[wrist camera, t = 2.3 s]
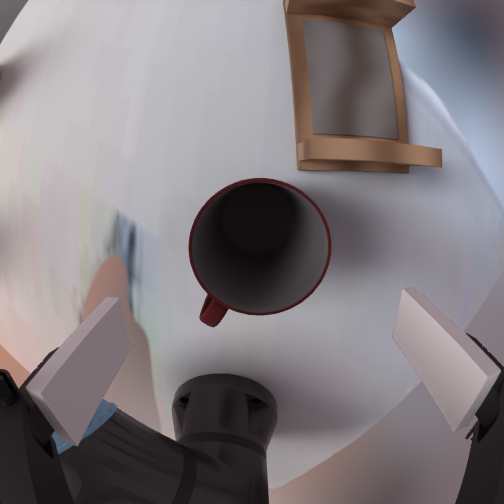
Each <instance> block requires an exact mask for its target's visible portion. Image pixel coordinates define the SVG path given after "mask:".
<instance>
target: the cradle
mask: <svg viewBox="0 0 504 504" xmlns="http://www.w3.org/2000/svg"><path fill="white" fill-rule="evenodd" d="M283 5H284V12H285V20H286V28H287V37H288V46H289V56H290V67H291V78H292V90H293V103H294V118H295V134H296V154H297V170H351V171H376V172H394V173H407V174H409V165H415V166H430V167H442V149H437V148H431V147H424V146H417V145H410V144H408V134H407V120H406V109H405V100H404V92H403V85H402V78H401V72H400V66H399V61H398V56H397V51H396V46H395V41H394V37H393V33H392V29H391V28H392V27H393V26H394V25H396V24H397V23H398V22H399V21H400V20H401V19H403V18H404V17H405V16H406V15H407V14H408V13H410V12H411V11H412V10H413V9H414V8H416V6H415V4H414V1H413V0H284V1H283Z"/></svg>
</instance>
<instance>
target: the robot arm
mask: <svg viewBox="0 0 504 504" xmlns="http://www.w3.org/2000/svg"><path fill="white" fill-rule="evenodd" d="M392 338H393V340H394V341H395V342H396V344H397V345H398V347H399V348H400V350H401V351H402V352H403V354H404V355H405V357H406V358H407V360H408V361H409V363H410V364H411V366H412V367H413V369H414V370H415V372H416V373H417V375H418V376H419V378H420V379H421V381H422V382H423V384H424V385H425V387H426V388H427V390H428V391H429V393H430V395H431V396H432V398H433V399H434V401H435V403H436V404H437V406H438V407H439V409H440V411H441V412H442V414H443V416H444V417H445V419H446V421H447V422H448V424H449V426H450V427H451V429H452V431H453V432H455V431H457V430H459V429H461V428H463V427H466V426H467V425H468V424H469V423H470V421H471V420H472V418H473V417H474V416H475V415H476V417H477V418H478V421H477V422H476V423H475V425H474V426H473V428H472V429H471V430H470V432H469V433H468V434H467V436H466V439H468V438H469V437H470V436H471V434H472V433H473V437H472V438H471V440H472V444H471V449H470V454H469V458H468V462H467V467H466V471H465V474H464V478H463V481H462V485H461V488H460V491H459V494H458V498H457V500H456V503H455V504H504V367H503V366H502V365H501V364H500V363H499V362H498V361H497V360H496V358H495V357H494V356H493V355H492V354H491V353H489V352H488V351H487V349H486V348H485V347H484V346H483V347H482V344H481V343H480V342H479V341H478V340H477V339H476V338H474V337H472V336H471V335H469V334H467V333H464V332H463V331H462V330H461V329H460V328H459V327H458V326H457V325H456V324H455V323H454V322H453V321H452V320H451V319H450V318H449V317H448V316H447V315H446V314H444V313H443V312H442V311H441V310H440V309H439V308H438V307H437V306H436V305H435V304H434V303H432V302H431V301H430V300H429V299H428V298H427V297H426V296H425V295H423V294H422V293H421V292H420V291H419V290H418V289H417V288H405V289H403V290H402V295H401V300H400V305H399V310H398V314H397V318H396V323H395V327H394V331H393V335H392ZM132 347H133V344H132V340H131V337H130V334H129V330H128V326H127V323H126V319H125V315H124V311H123V307H122V303H121V300H120V298H116V297H106V298H105V299H104V300H103V302H102V303H101V304H100V305H99V306H98V307H97V308H96V309H95V310H94V311H93V312H92V313H91V314H90V315H89V316H88V317H87V318H86V319H85V320H84V321H83V322H82V323H81V324H80V325H79V326H78V328H77V329H76V330H75V331H74V332H73V333H72V334H71V335H70V336H69V337H68V338H67V339H66V341H65V342H64V343H63V344H62V345H61V346H60V347H58V348H56V349H55V350H53V351H52V352H50V353H49V354H48V355H47V356H46V357H45V358H44V360H43V362H41V363H40V364H39V365H38V366H37V368H36V369H35V370H34V371H33V372H32V373H31V375H30V376H29V377H28V378H27V379H26V381H25V382H24V383H23V384H22V385H21V387H20V388H19V389H18V387H17V386H16V384H15V382H14V380H13V378H12V377H11V375H10V373H9V372H8V371H7V370H4V369H0V504H269V496H268V479H267V463H266V450H267V448H268V445H269V442H270V440H271V437H272V434H273V432H274V429H275V426H276V423H277V406H276V402H275V399H274V398H273V396H272V395H271V393H270V392H269V391H268V390H267V389H265V388H264V387H263V386H261V385H259V384H258V383H256V382H253V381H251V380H249V379H246V378H242V377H238V376H233V375H225V374H211V375H203V376H199V377H196V378H193V379H190V380H188V381H187V382H185V383H184V384H182V385H181V386H180V387H179V389H178V390H177V392H176V394H175V397H174V401H173V404H172V417H173V424H174V430H175V437H176V441H174V440H172V439H170V438H168V437H166V436H164V435H163V434H161V433H159V432H157V431H155V430H153V429H151V428H150V427H148V426H146V425H144V424H142V423H141V422H139V421H137V420H136V419H134V418H133V417H131V416H129V415H127V414H126V413H124V412H123V411H121V410H119V409H118V408H117V406H116V405H115V404H114V403H109V402H107V401H106V400H104V399H103V397H104V395H105V393H106V392H107V390H108V388H109V386H110V385H111V383H112V381H113V379H114V378H115V376H116V374H117V372H118V370H119V369H120V367H121V365H122V364H123V362H124V360H125V359H126V357H127V355H128V354H129V352H130V350H131V349H132Z"/></svg>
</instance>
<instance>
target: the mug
mask: <svg viewBox="0 0 504 504" xmlns="http://www.w3.org/2000/svg"><path fill="white" fill-rule="evenodd" d="M330 256H331V238H330V232H329V228H328V225H327V222H326V220H325V218H324V216H323V214H322V212H321V211H320V209H319V208H318V206H317V205H316V204H315V203H314V202H313V201H312V200H311V199H310V198H309V197H308V196H307V195H306V194H305V193H303V192H302V191H300V190H299V189H297V188H296V187H294V186H292V185H290V184H287V183H284V182H282V181H278V180H274V179H268V178H252V179H246V180H241V181H238V182H235V183H233V184H231V185H229V186H227V187H225V188H223V189H222V190H220V191H219V192H217V193H216V194H215V195H213V196H212V197H211V198H210V199H209V200H208V201H207V202H206V203H205V205H204V206H203V207H202V208H201V210H200V211H199V213H198V215H197V216H196V218H195V220H194V223H193V226H192V229H191V232H190V237H189V257H190V263H191V266H192V269H193V272H194V275H195V277H196V278H197V280H198V282H199V284H200V285H201V287H202V288H203V289H204V290H205V291H206V293H207V294H208V295H207V297H206V299H205V302H204V304H203V307H202V310H201V313H200V320H201V321H202V322H203V323H205V324H206V325H208V326H210V327H215V326H217V325H218V324H219V323H220V321H221V320H222V319H223V317H224V316H225V314H226V312H227V311H228V309H231V310H233V311H236V312H239V313H243V314H248V315H270V314H277V313H280V312H283V311H286V310H288V309H291V308H293V307H295V306H296V305H298V304H300V303H301V302H303V301H304V300H305V299H306V298H308V297H309V296H310V295H311V294H312V293H313V292H314V291H315V289H316V288H317V287H318V285H319V284H320V283H321V281H322V279H323V277H324V275H325V273H326V271H327V268H328V265H329V261H330Z"/></svg>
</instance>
